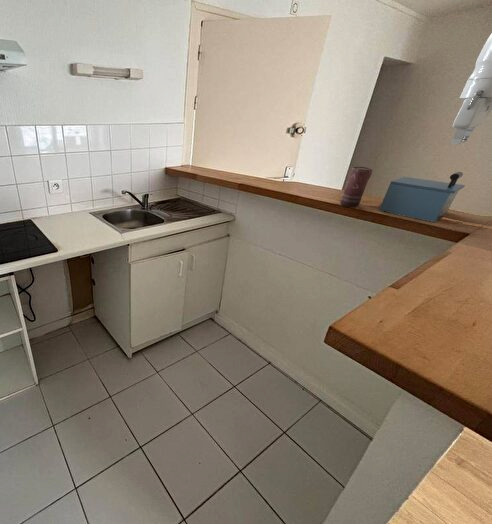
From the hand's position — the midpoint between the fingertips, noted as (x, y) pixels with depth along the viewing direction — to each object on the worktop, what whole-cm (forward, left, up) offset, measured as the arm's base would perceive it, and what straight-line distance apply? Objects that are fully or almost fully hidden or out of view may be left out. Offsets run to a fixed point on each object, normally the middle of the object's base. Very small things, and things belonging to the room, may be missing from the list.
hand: (458, 143), depth 87 cm
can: (+20, +7, -24) cm, 32 cm away
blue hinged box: (+3, -1, -24) cm, 24 cm away
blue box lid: (+3, -1, -14) cm, 14 cm away
